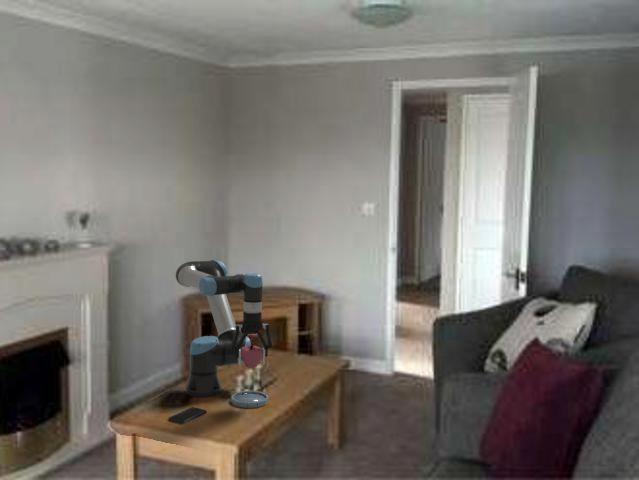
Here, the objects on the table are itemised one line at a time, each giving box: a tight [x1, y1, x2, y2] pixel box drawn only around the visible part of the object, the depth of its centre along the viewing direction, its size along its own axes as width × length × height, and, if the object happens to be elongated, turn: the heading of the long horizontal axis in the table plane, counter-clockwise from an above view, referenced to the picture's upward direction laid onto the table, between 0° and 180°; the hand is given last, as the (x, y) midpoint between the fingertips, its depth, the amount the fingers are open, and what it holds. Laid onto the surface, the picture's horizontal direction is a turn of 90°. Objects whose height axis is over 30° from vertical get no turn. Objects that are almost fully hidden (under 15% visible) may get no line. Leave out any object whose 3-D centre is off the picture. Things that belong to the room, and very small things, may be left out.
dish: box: [230, 390, 270, 409], centre depth 281 cm, size 15×15×2 cm
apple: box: [241, 344, 263, 369], centre depth 279 cm, size 10×9×10 cm
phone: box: [167, 406, 208, 425], centre depth 262 cm, size 8×1×15 cm
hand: (251, 364), depth 280 cm, fingers closed on apple, 9 cm apart
